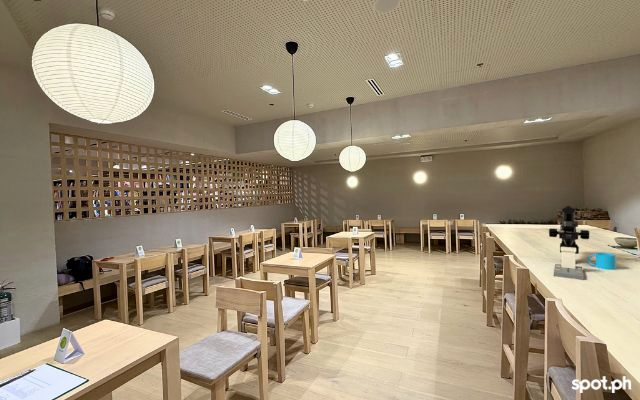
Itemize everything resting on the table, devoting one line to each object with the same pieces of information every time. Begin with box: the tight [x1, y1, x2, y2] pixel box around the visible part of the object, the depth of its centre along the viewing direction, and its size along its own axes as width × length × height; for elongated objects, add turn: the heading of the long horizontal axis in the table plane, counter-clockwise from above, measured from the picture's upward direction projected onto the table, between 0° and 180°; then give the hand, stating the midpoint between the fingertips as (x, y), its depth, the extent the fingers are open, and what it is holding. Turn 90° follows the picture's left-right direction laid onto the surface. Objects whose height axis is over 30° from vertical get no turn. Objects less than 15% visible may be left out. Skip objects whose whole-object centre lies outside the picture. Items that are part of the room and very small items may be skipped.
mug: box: [586, 252, 616, 271], centre depth 172 cm, size 12×8×8 cm
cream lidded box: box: [561, 247, 576, 269], centre depth 167 cm, size 4×7×11 cm, turn 49°
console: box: [553, 263, 584, 281], centre depth 163 cm, size 22×12×2 cm, turn 139°
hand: (568, 244), depth 174 cm, fingers closed
